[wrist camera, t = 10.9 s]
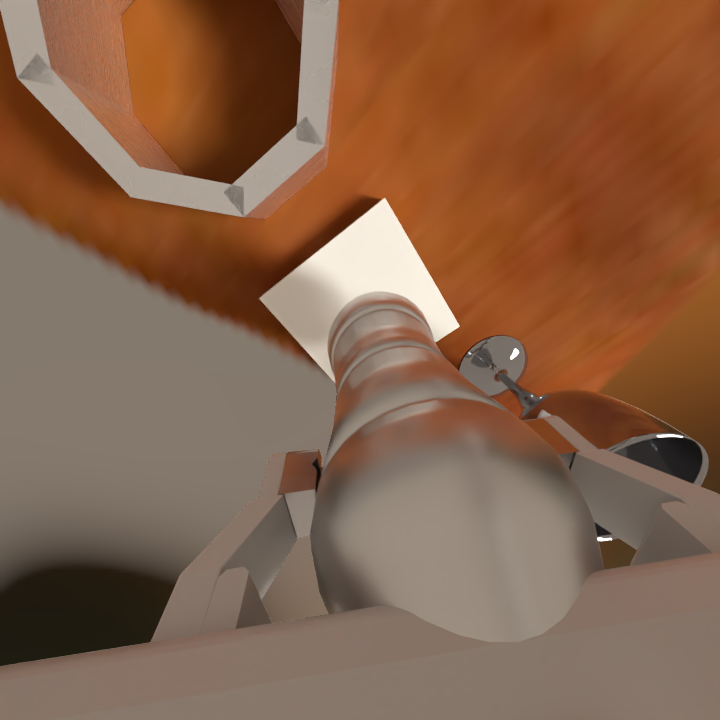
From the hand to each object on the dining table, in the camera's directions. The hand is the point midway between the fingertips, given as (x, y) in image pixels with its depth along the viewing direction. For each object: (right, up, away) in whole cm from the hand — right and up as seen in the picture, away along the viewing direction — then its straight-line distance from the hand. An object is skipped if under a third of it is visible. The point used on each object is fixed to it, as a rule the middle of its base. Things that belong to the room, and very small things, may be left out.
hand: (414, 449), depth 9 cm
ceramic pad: (-2, +7, +16) cm, 18 cm away
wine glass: (+12, +2, +20) cm, 23 cm away
